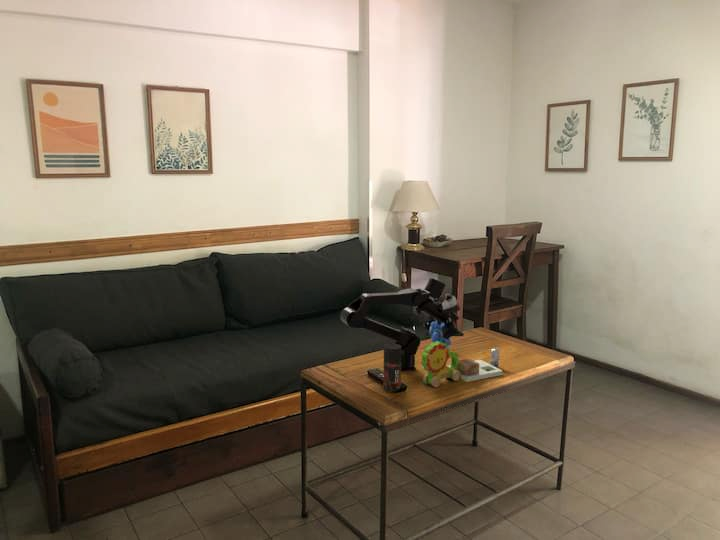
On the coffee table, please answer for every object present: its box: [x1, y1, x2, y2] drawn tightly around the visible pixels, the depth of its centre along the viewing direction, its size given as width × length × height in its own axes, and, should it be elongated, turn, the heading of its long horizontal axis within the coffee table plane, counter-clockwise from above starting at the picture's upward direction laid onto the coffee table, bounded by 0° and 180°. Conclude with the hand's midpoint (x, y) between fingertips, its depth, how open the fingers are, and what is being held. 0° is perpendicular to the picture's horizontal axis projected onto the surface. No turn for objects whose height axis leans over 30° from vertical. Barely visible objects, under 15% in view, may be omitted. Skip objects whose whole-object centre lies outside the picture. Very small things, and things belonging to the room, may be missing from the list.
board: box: [446, 359, 504, 383], centre depth 213 cm, size 16×13×2 cm
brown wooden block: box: [458, 358, 479, 376], centre depth 208 cm, size 6×6×4 cm
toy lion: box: [421, 341, 461, 388], centre depth 202 cm, size 16×5×15 cm, turn 126°
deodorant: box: [382, 343, 402, 392], centre depth 197 cm, size 6×6×15 cm
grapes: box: [428, 320, 452, 348], centre depth 238 cm, size 12×7×12 cm, turn 40°
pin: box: [489, 347, 500, 369], centre depth 218 cm, size 3×3×7 cm
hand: (460, 326), depth 224 cm, fingers open, 9 cm apart
